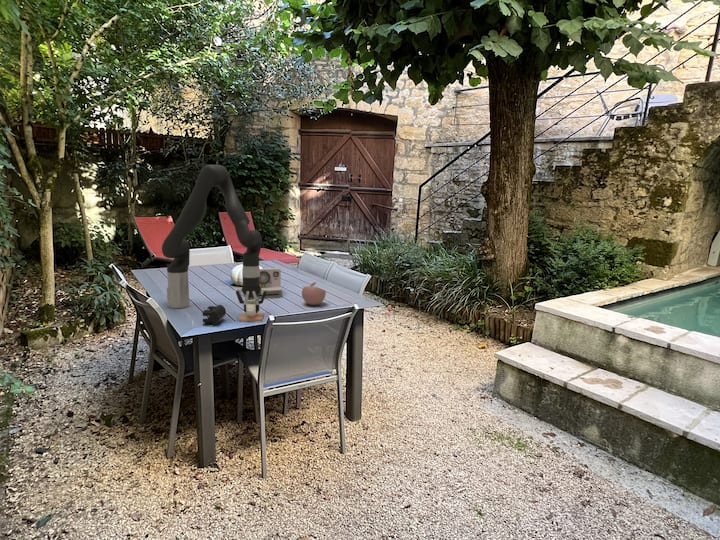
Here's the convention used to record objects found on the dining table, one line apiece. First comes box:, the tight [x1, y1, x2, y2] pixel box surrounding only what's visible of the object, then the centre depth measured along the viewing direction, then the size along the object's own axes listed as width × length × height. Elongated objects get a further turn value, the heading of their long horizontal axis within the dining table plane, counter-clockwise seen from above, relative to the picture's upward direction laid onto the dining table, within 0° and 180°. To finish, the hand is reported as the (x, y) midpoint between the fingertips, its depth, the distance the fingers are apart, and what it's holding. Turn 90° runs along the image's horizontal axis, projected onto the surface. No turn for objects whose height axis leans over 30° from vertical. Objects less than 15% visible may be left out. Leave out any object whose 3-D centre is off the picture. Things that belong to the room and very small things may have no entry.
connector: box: [246, 300, 256, 316], centre depth 195 cm, size 11×4×5 cm, turn 6°
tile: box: [238, 312, 265, 322], centre depth 197 cm, size 10×10×1 cm
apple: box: [301, 281, 327, 306], centre depth 220 cm, size 12×12×12 cm
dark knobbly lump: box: [202, 304, 227, 326], centre depth 188 cm, size 10×7×7 cm
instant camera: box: [242, 267, 283, 301], centre depth 236 cm, size 21×21×15 cm
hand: (251, 312), depth 196 cm, fingers closed on connector, 4 cm apart
